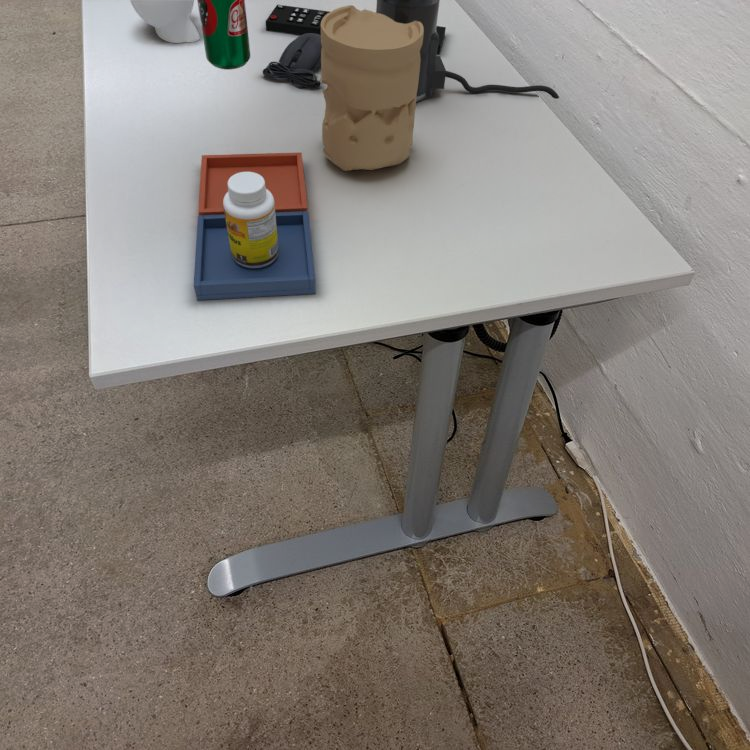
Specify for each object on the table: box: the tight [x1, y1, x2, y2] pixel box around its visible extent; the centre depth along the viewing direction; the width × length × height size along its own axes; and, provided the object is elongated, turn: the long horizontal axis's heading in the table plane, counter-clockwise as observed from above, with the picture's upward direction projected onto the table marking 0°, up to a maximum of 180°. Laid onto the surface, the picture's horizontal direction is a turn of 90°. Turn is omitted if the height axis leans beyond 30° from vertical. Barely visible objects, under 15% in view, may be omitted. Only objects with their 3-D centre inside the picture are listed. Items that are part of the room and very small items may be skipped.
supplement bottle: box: [223, 172, 278, 268], centre depth 72 cm, size 6×6×10 cm
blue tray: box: [193, 210, 317, 301], centre depth 76 cm, size 13×12×2 cm
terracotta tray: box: [197, 152, 309, 216], centre depth 84 cm, size 13×12×2 cm
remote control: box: [265, 4, 447, 55], centre depth 115 cm, size 8×32×2 cm, turn 79°
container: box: [320, 4, 424, 172], centre depth 84 cm, size 13×13×18 cm
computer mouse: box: [262, 33, 322, 90], centre depth 106 cm, size 10×15×4 cm
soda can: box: [196, 0, 251, 71], centre depth 70 cm, size 5×5×12 cm
